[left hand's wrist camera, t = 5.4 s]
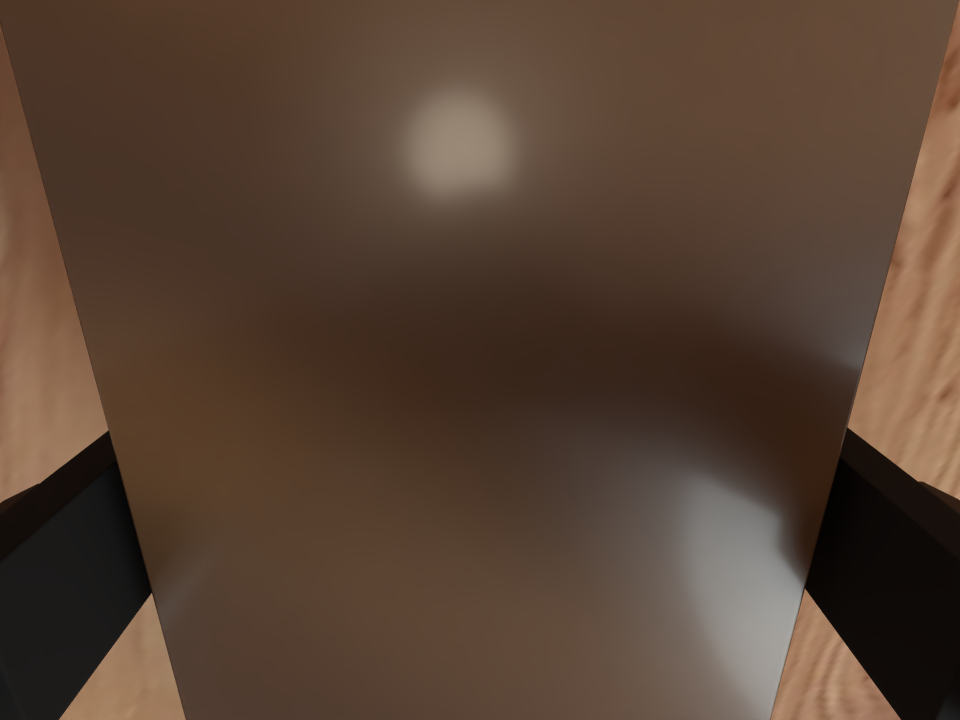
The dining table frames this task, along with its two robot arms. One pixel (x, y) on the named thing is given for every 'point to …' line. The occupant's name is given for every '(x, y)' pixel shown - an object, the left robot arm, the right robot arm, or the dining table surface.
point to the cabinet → (477, 330)
